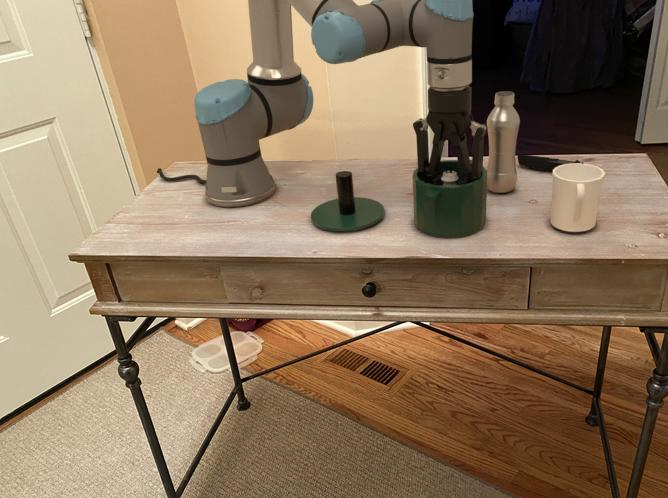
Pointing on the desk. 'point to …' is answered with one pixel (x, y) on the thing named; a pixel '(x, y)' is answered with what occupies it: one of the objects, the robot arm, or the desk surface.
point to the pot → (449, 204)
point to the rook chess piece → (449, 178)
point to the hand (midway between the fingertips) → (449, 211)
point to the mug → (575, 197)
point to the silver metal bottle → (502, 144)
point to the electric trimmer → (542, 162)
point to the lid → (347, 208)
